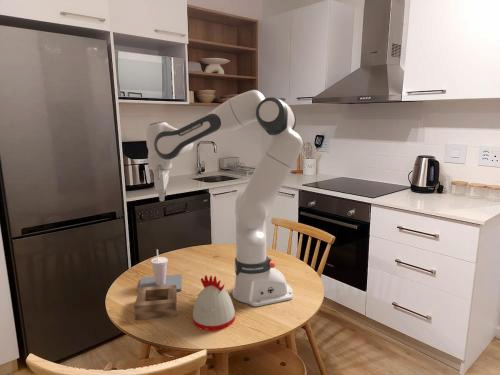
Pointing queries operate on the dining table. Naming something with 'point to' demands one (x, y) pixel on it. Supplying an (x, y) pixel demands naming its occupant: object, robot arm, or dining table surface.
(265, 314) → the dining table surface
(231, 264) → the dining table surface
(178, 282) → the rubber mat
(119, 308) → the dining table surface
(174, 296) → the holder collar
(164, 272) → the smoothie
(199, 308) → the kitchen timer
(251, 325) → the dining table surface
